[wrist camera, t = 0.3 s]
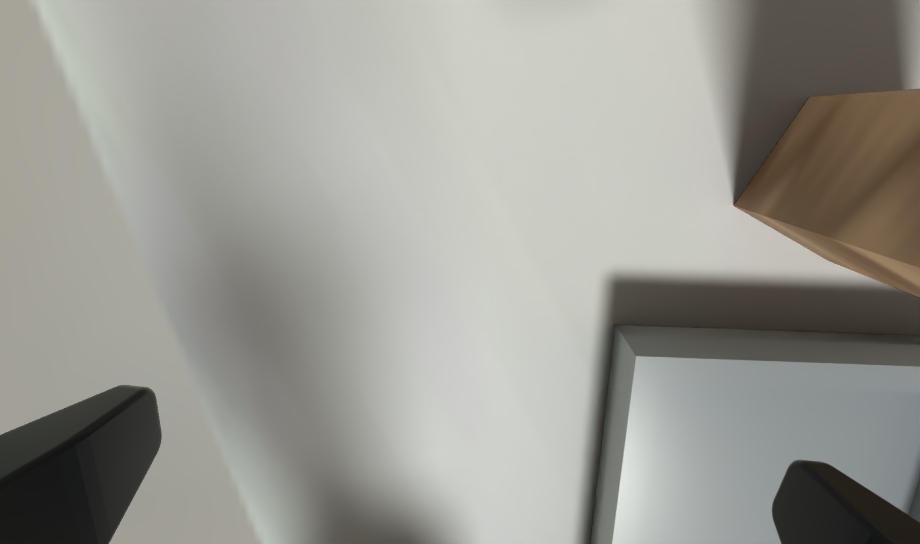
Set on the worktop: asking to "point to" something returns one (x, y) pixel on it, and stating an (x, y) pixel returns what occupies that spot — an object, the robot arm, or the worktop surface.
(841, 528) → the robot arm
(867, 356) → the tray
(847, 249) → the walnut block
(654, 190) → the worktop surface
